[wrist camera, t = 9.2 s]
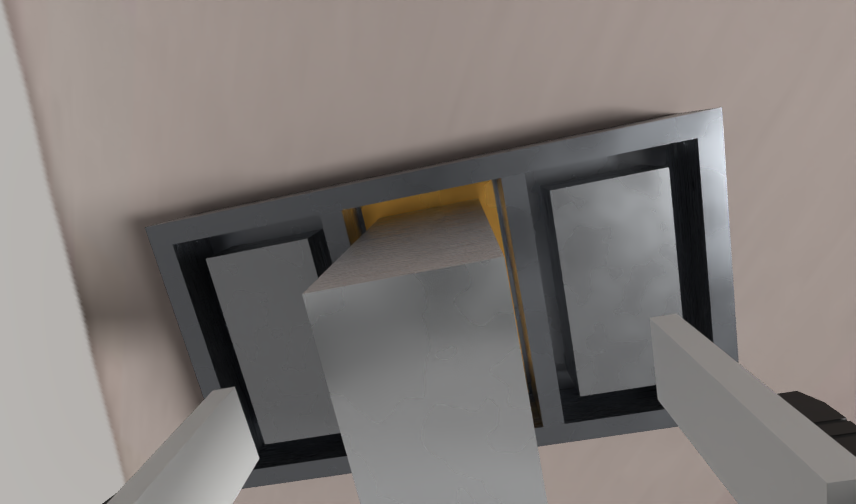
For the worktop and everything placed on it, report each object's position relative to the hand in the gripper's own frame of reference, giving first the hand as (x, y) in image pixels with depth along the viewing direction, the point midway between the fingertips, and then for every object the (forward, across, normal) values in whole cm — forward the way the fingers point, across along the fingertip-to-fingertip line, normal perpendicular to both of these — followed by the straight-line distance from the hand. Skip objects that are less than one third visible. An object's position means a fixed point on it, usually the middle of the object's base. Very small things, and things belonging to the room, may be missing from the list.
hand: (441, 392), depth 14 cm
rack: (+10, 0, -1) cm, 10 cm away
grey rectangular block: (+10, 0, -1) cm, 10 cm away
